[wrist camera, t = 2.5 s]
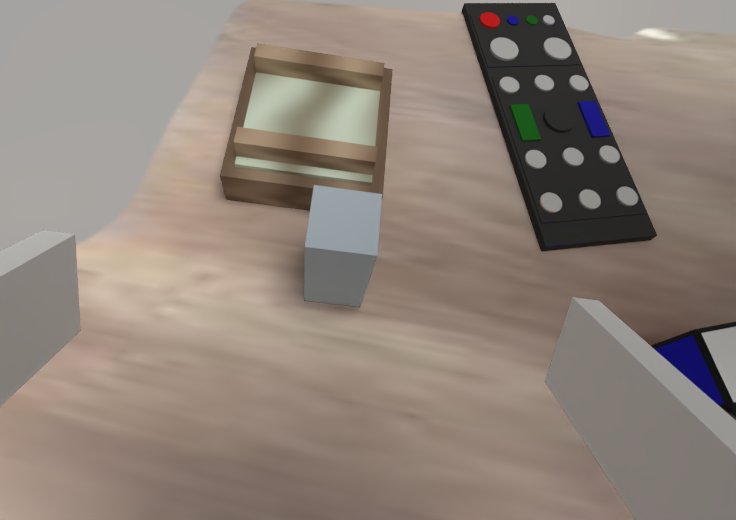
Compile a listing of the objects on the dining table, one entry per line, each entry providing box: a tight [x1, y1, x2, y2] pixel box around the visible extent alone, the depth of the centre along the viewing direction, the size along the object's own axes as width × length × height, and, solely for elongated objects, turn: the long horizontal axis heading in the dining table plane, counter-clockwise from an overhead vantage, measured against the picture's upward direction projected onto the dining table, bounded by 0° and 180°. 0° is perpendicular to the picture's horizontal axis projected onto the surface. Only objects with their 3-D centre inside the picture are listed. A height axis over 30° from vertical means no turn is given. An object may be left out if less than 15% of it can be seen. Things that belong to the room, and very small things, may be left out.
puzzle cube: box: [651, 322, 736, 416], centre depth 34 cm, size 10×10×10 cm
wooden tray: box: [220, 43, 392, 210], centre depth 42 cm, size 13×14×6 cm
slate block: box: [304, 185, 382, 307], centre depth 35 cm, size 4×4×10 cm
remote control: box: [461, 3, 657, 251], centre depth 50 cm, size 11×30×2 cm, turn 9°
